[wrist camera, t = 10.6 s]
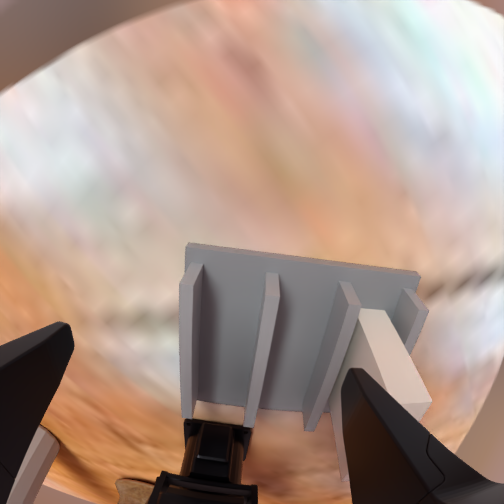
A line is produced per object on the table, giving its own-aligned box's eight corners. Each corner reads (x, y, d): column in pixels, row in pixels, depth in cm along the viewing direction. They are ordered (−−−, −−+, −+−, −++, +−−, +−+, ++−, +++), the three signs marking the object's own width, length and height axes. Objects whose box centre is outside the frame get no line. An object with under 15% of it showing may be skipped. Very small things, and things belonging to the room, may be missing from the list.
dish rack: (361, 406, 26) (369, 437, 22) (186, 391, 26) (177, 423, 22) (416, 271, 20) (439, 297, 17) (188, 242, 21) (172, 266, 17)
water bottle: (41, 418, 31) (-30, 552, 8) (72, 452, 34) (17, 579, 10) (7, 410, 32) (-61, 522, 9) (35, 443, 35) (-20, 551, 11)
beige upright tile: (353, 389, 24) (375, 478, 15) (326, 388, 24) (341, 481, 15) (384, 310, 21) (432, 401, 12) (353, 307, 21) (392, 404, 12)
